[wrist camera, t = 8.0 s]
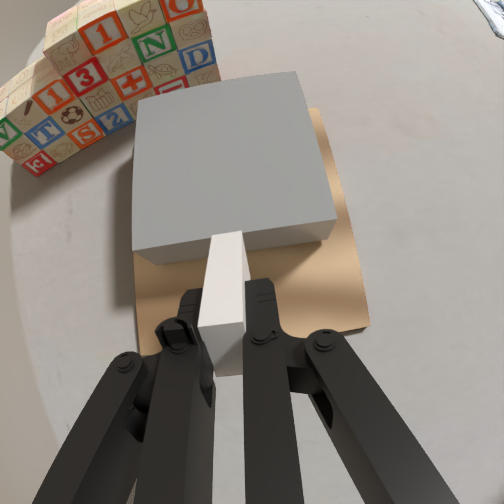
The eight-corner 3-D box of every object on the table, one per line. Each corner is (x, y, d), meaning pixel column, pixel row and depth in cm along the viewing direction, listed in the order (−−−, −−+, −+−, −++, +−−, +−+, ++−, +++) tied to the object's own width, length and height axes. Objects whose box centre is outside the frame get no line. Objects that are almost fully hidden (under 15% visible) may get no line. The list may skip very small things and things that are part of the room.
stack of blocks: (37, 180, 26) (-40, 120, 15) (36, 139, 28) (-26, 78, 16) (223, 84, 27) (198, -23, 15) (204, 52, 29) (178, -41, 17)
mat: (368, 326, 20) (370, 325, 20) (144, 355, 21) (140, 355, 21) (317, 112, 25) (317, 107, 25) (138, 143, 26) (135, 139, 25)
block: (337, 218, 17) (295, 71, 20) (132, 250, 18) (138, 100, 21) (326, 241, 22) (294, 107, 25) (158, 266, 22) (156, 132, 25)
